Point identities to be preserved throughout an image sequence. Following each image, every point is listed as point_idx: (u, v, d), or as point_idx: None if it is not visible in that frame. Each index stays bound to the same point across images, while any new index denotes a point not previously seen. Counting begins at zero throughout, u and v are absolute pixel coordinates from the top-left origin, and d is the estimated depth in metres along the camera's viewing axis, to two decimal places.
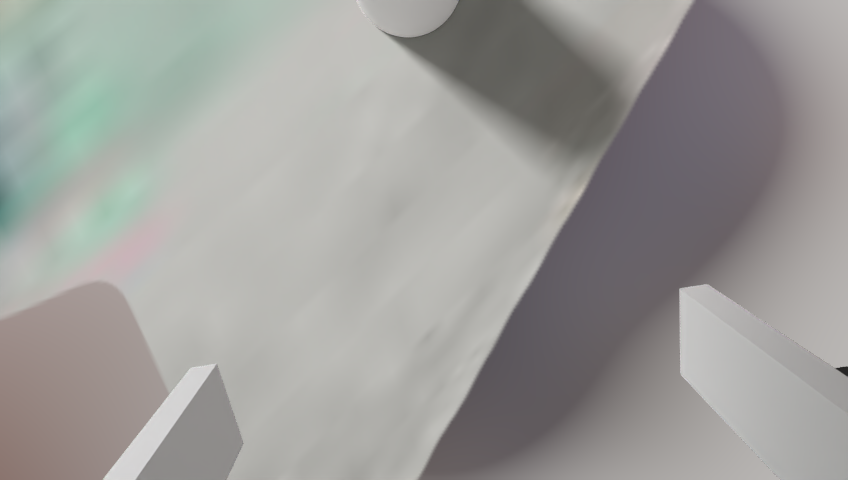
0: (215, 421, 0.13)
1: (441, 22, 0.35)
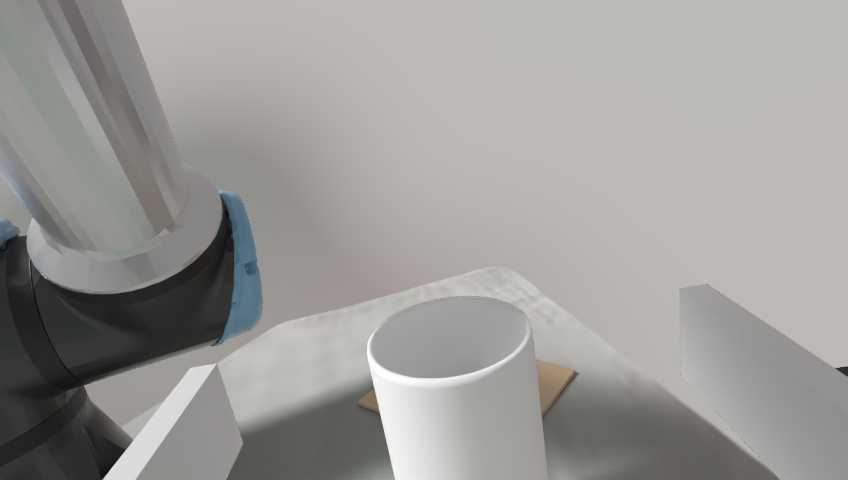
0: (215, 421, 0.13)
1: None
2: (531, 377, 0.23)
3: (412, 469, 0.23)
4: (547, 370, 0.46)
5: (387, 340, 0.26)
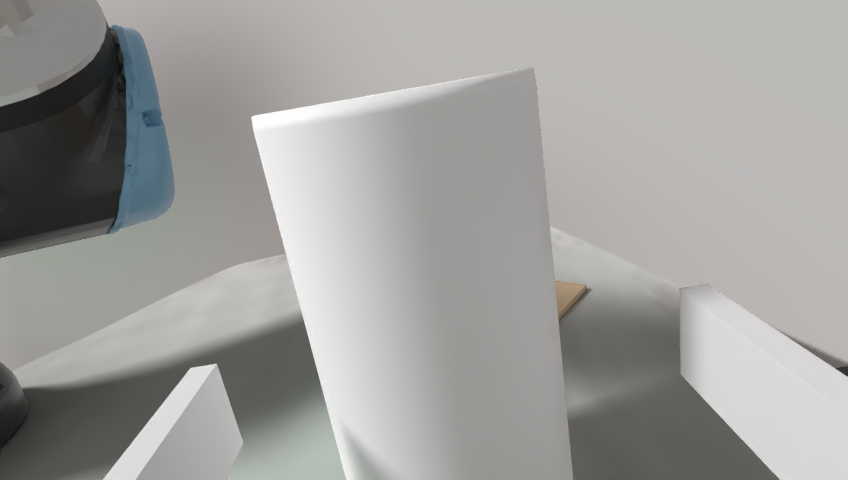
0: (215, 421, 0.13)
1: None
2: (534, 143, 0.13)
3: (326, 308, 0.13)
4: None
5: None
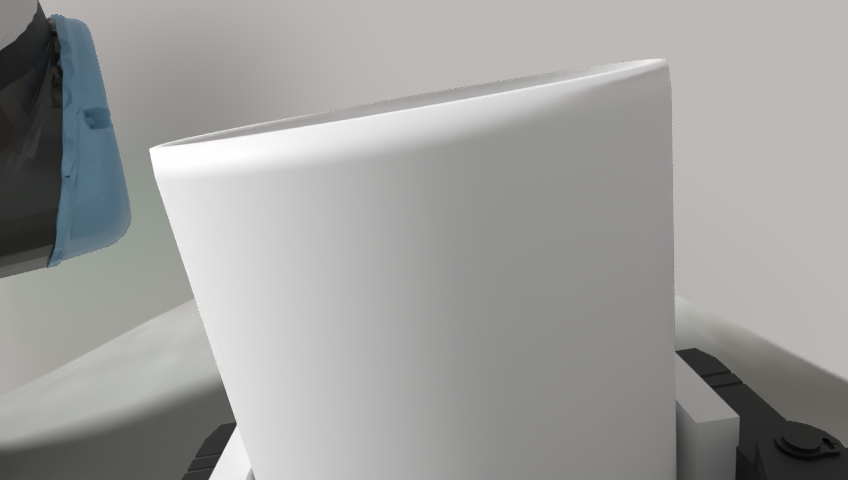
0: None
1: None
2: None
3: None
4: None
5: None
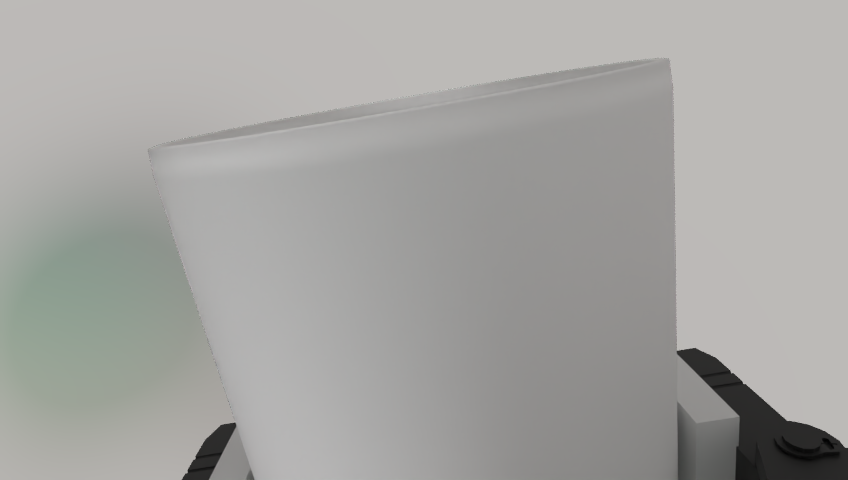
0: None
1: None
2: None
3: None
4: None
5: None
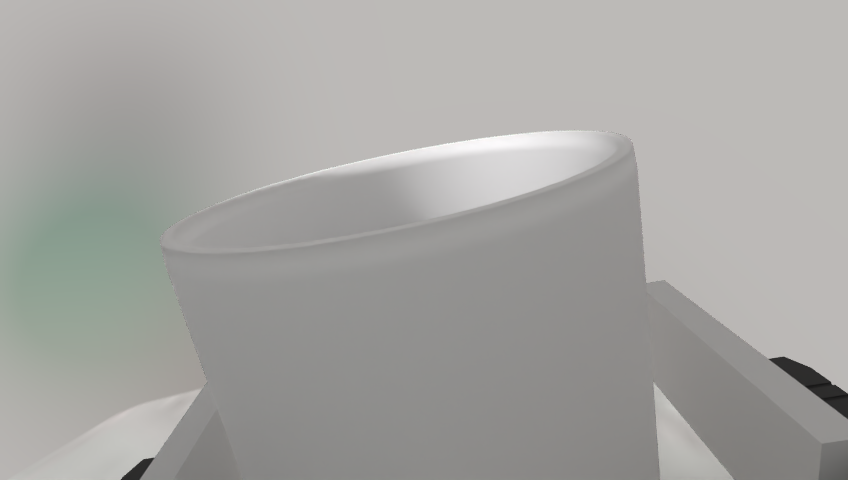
0: None
1: None
2: None
3: None
4: None
5: (266, 231, 0.11)
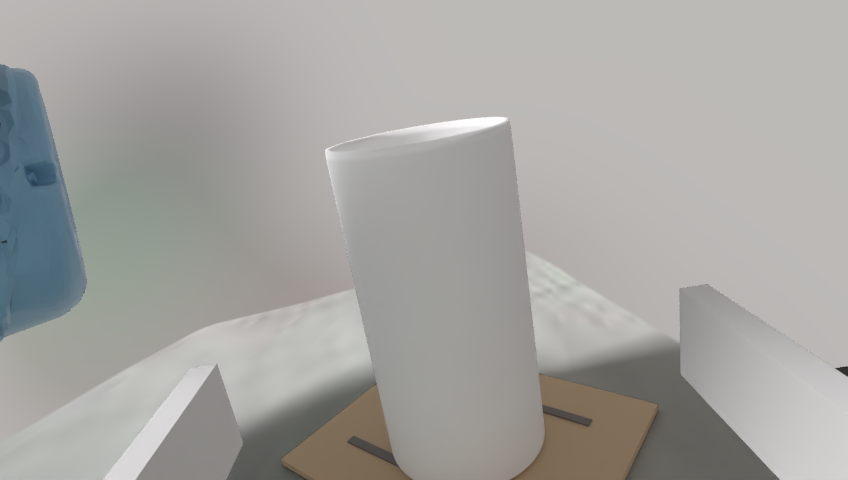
0: (215, 421, 0.13)
1: (541, 406, 0.25)
2: (508, 169, 0.20)
3: (374, 275, 0.20)
4: (609, 405, 0.27)
5: None
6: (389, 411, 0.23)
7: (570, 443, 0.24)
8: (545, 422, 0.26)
